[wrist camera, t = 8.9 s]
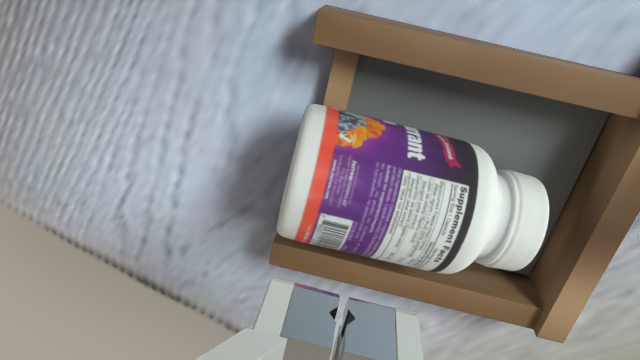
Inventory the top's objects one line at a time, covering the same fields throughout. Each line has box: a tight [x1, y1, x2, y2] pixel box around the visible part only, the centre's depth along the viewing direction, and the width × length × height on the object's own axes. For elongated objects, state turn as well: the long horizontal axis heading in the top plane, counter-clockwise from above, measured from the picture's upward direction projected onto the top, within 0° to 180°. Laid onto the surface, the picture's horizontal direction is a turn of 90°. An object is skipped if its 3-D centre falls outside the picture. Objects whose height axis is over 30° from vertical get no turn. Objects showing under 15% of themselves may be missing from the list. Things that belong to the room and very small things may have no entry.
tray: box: [269, 5, 640, 343], centre depth 20 cm, size 11×14×3 cm
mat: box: [346, 54, 610, 276], centre depth 21 cm, size 9×11×1 cm
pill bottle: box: [276, 104, 549, 274], centre depth 19 cm, size 5×5×10 cm
